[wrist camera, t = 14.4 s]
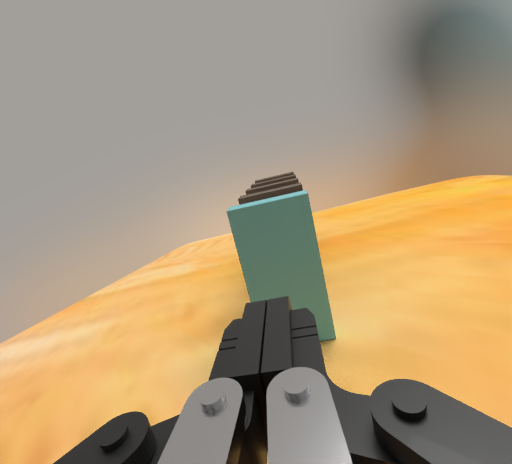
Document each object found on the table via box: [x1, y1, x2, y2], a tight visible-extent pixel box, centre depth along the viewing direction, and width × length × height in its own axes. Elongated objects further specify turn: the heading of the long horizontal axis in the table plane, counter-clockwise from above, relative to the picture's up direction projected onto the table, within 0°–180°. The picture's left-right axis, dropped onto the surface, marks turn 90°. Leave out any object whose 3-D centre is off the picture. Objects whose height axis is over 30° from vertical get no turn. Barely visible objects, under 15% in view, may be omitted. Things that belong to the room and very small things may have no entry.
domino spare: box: [227, 190, 336, 341], centre depth 19 cm, size 2×5×10 cm, turn 85°
